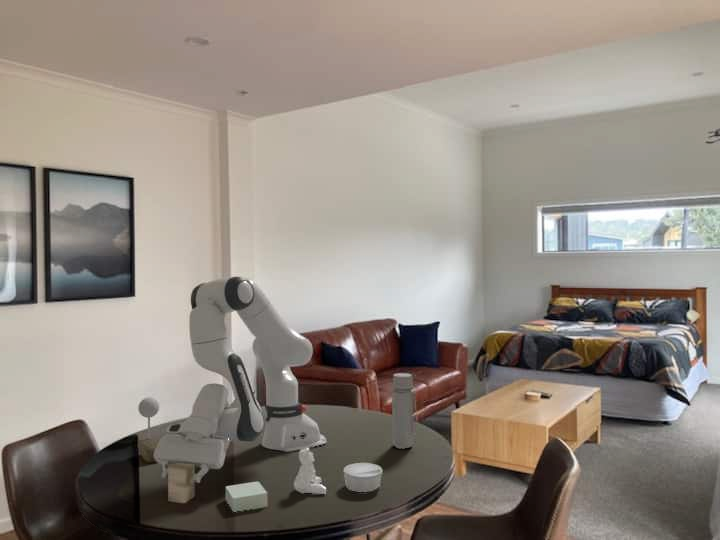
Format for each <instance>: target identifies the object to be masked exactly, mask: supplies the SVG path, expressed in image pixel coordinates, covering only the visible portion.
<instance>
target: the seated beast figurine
mask: <svg viewBox="0 0 720 540" xmlns="http://www.w3.org/2000/svg"><path fill="white" fill-rule="evenodd" d="M298 458H299V461H300V463H301V465H300V466H299V470H298V472H297V473H298V474H297V475H296V477H295V479H294V481H293V486H294V489H295V492H296V491H297V492H298V493H299V492H300V494H304V493H312V494H311V495H319V494H324V495H326V494H327V486H325V485H323V484H322V478H321V477H320V476H318V475H317V476H316V469H315V467H314V462H315V457H314V453H313V452H312V451H310V448H304V449H300V450H299V452H298ZM320 483H321V484H320Z"/></svg>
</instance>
